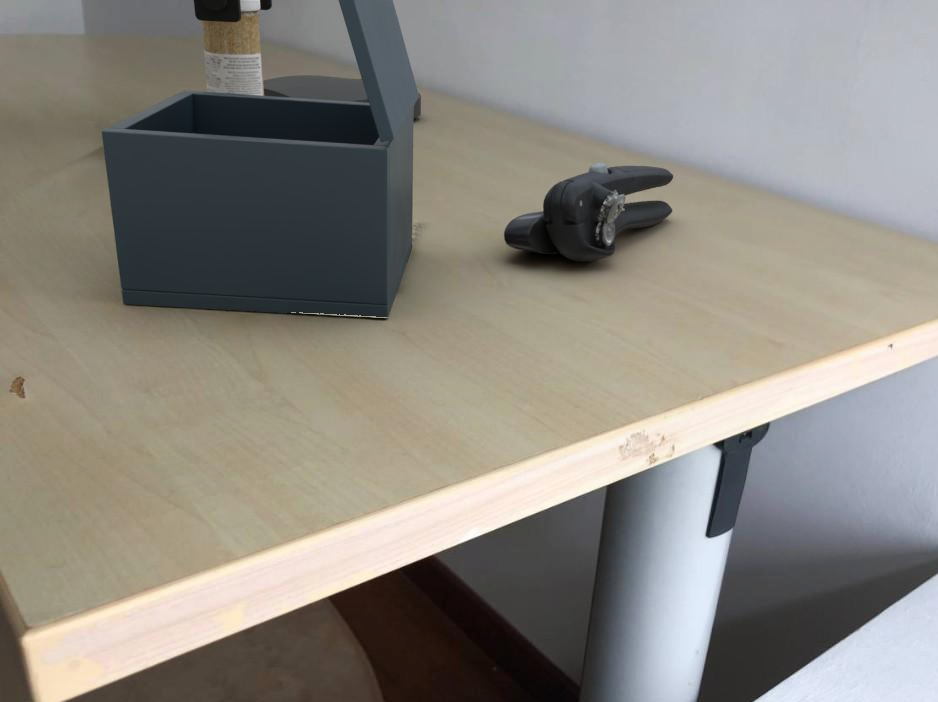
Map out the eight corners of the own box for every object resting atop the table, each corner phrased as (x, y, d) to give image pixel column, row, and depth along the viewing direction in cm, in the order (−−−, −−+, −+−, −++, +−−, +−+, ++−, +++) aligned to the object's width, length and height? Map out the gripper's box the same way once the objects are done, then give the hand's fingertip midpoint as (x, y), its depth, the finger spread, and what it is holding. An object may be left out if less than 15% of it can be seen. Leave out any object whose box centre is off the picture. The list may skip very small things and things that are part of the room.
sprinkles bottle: (265, 152, 83) (255, -19, 78) (271, 165, 80) (262, -15, 74) (208, 153, 82) (194, -22, 76) (212, 165, 78) (198, -18, 72)
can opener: (584, 284, 58) (593, 190, 56) (489, 258, 62) (493, 168, 59) (707, 226, 72) (719, 148, 70) (624, 207, 75) (632, 132, 73)
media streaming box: (353, 97, 111) (353, 69, 110) (436, 120, 102) (437, 90, 101) (236, 106, 101) (234, 75, 100) (315, 132, 92) (314, 99, 91)
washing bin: (122, 304, 51) (100, 130, 47) (195, 234, 62) (182, 90, 58) (387, 319, 51) (387, 149, 47) (412, 247, 62) (413, 105, 59)
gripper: (197, -235, 76) (218, 2, 84) (113, -273, 61) (149, 23, 68) (294, -229, 76) (307, 7, 84) (236, -265, 61) (258, 29, 69)
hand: (236, 14), depth 76 cm, fingers open, 9 cm apart
